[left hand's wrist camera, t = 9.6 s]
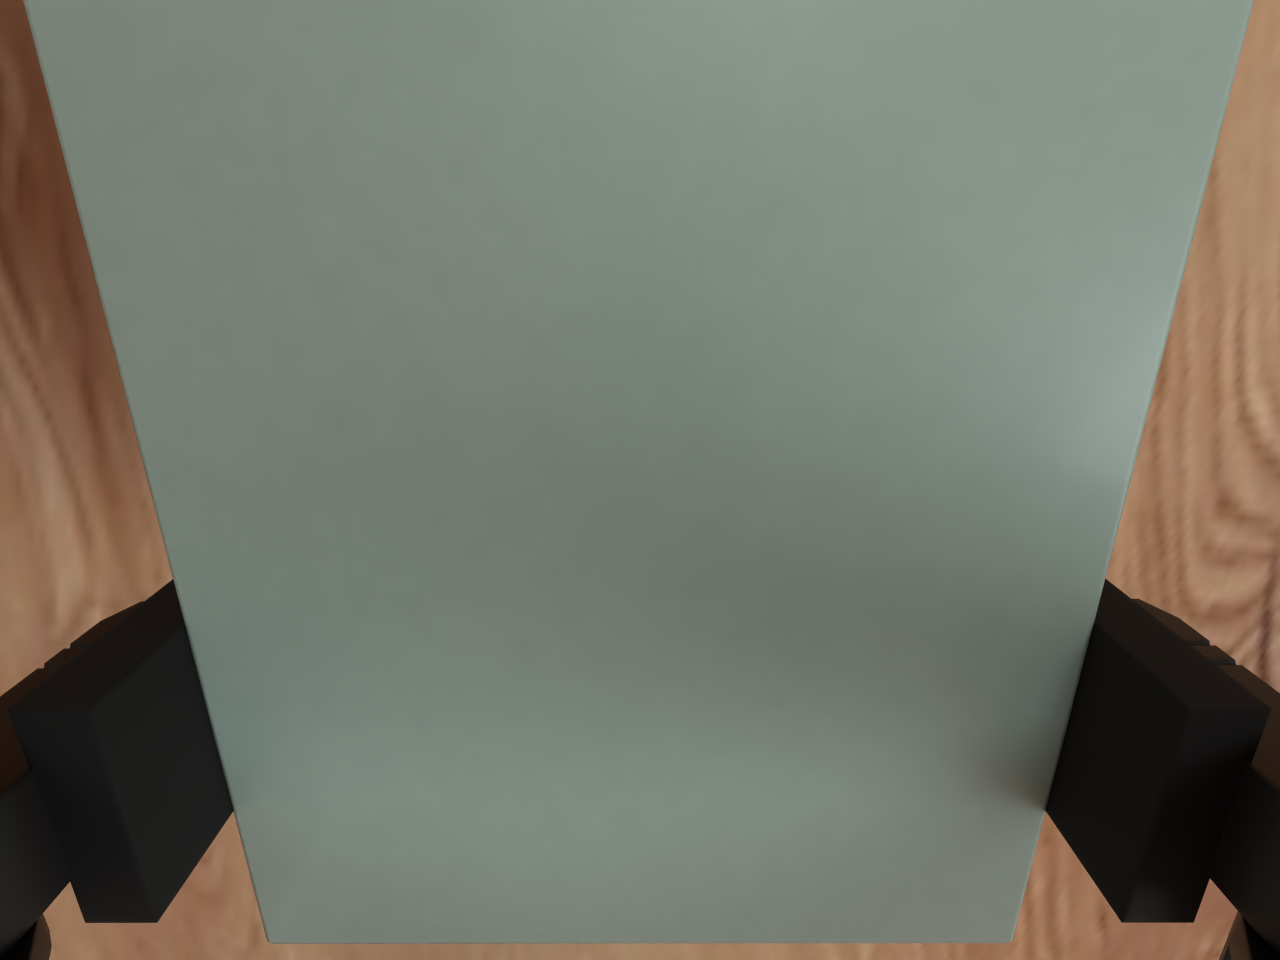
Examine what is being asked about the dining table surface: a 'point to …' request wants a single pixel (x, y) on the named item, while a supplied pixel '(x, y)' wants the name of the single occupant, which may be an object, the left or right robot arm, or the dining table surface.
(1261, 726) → the left robot arm
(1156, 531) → the dining table surface
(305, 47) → the cabinet
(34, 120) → the dining table surface
